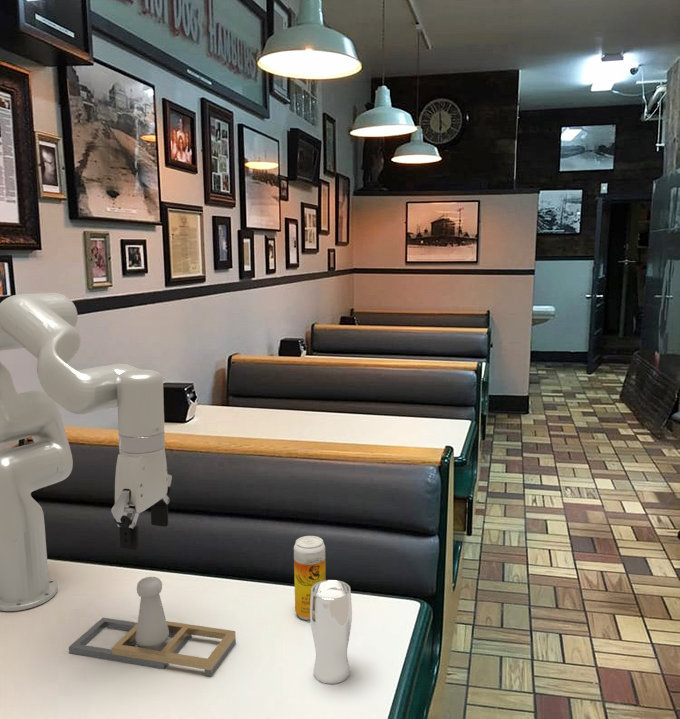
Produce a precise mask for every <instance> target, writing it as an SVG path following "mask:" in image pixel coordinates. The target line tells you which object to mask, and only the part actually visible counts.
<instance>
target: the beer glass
mask: <svg viewBox="0 0 680 719" xmlns="http://www.w3.org/2000/svg"><path fill="white" fill-rule="evenodd" d="M351 589H352V588H351V586H350V585H349V584H348V583H346V582H345V581H342V580H337V579H326V580H325V581H321V582H318V583H316V584H315V585H313V586H312V588H311V601H310V620H309V621H310V626H311V628H310V629H311V633H312V634H311V635H312V638H313V643H314V648H315V660H314V664H313V665H314V666H313V676H314V678H315V679H316V680H318V681H319V682H321V683H322V684H323V683H324V684H328V685H334V684H335V685H336V684H340V683H342V682H344V681H346V680H347V679H348V678H349V676H350V672H351V670H350V664H349V658H348V647H349V641H350V636H351V630H352V623H353V622H352V621H353V604H352V595H351Z"/></svg>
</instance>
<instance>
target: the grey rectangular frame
mask: <svg viewBox="0 0 680 719" xmlns="http://www.w3.org/2000/svg"><path fill="white" fill-rule="evenodd" d="M137 623H138V622H135V621H128V620H123V619H116V618H115V619H113V618H111V617H110V618H108V617H101V618H100V619H99V620H98V621H97V622H96V623H95V624H93V625H92V626H91V627H90V628H89V629H87V630H86V631H85V632H84V633H83V634H82V635H81V636H79V637H78V638H77V639H76V640H75V641H74V642H72V643H71V644H70V645H69V646H68V654H72V655H77V656H83V657H90V658H96V659H103V660H106V659H107V661H113V662H114V661H115V662H118V661H119V663H120V662H121V663H125V664H130V665H131V664H132V665H136V666H143V667H149V668H155V669H161V670H165V668H166V667H167V666H168V665H170V664H169V663H163V662H157V661H151V660H145V659H139V658H132V657H126V656H120V655H114V654H112V648H111V649H110V648H104V647H100V646H99V647H98V646H94V645H93V646H92V645H88V643H89V642H90V641H91V640H92V639H94V638H95V637H96V636H97V635H98V634H100V632H102V631H103V630H104V629H105V628H104V627H107V628H106V629H112V628H113V629H114V630H118V629H119V631H125V632H129V631H130V630H131V629H132V628H133V627H134V626H135V625H136V624H137ZM103 628H104V629H103ZM102 629H103V630H102ZM113 629H112V630H113ZM176 634H177V632H170V631H169V636H168V638H171V639H172V638H173V637H174V636H175V635H176ZM192 637H193V635H190V634H188V635H187V636H186V638H185V639H184V640H183V641H182V642H181V643H180V645H179V646H178V647H177V648H176V649H175V650H174V651H173V653H176V654H179V653H180V651H181V650H182V649H183V648H184V647H185V646H186V644H187V643H188V642H189V641H190V640H191V638H192ZM136 645H137V643H136V640H135V639H134V640H133V641H132V642H131V643H130V644H129V645H128V646H132V647H135V646H136Z"/></svg>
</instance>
